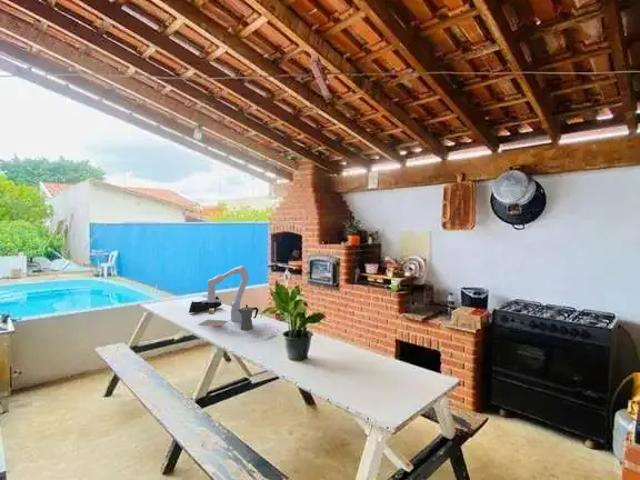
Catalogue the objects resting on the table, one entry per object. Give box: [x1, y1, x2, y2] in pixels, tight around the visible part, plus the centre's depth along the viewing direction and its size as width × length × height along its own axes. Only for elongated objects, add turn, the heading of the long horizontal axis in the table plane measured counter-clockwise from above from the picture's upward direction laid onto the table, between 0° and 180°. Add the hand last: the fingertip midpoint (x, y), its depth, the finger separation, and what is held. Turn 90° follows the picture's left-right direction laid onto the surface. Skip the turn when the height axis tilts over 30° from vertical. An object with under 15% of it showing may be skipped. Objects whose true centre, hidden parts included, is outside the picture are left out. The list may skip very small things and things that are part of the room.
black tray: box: [188, 295, 222, 314], centre depth 319 cm, size 17×3×30 cm
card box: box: [207, 308, 216, 315], centre depth 285 cm, size 4×7×3 cm, turn 10°
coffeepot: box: [238, 304, 259, 331], centre depth 270 cm, size 15×9×18 cm, turn 111°
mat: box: [198, 319, 229, 328], centre depth 282 cm, size 18×16×1 cm
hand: (211, 311), depth 285 cm, fingers closed on card box, 4 cm apart
